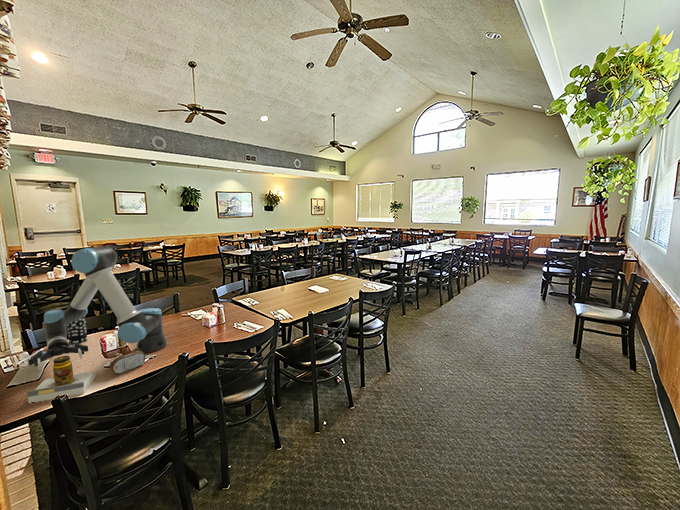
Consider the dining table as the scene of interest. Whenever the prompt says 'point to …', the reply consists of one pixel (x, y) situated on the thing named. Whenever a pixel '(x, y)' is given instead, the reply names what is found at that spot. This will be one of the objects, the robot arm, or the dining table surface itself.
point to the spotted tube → (77, 331)
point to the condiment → (62, 372)
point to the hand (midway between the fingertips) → (60, 361)
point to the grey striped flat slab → (61, 388)
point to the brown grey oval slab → (127, 362)
